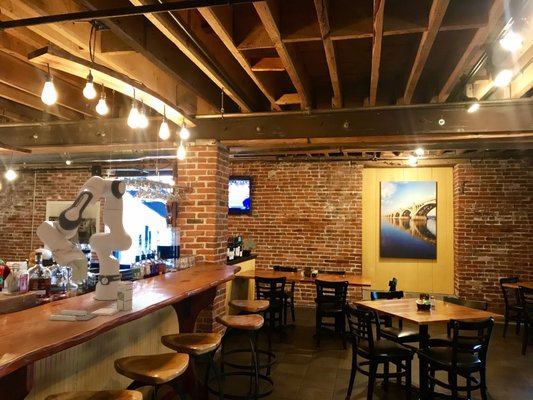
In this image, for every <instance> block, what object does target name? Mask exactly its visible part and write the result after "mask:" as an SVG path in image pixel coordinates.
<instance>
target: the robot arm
mask: <svg viewBox="0 0 533 400" xmlns="http://www.w3.org/2000/svg"><path fill="white" fill-rule="evenodd" d="M126 189H127V187H126V183H125V182H124V181H123V179H119V178H102V177H100V176H98V175H93V176H91V177H89V178H88V179H87V180H86V181H85V182H84V184H83V185H81V187H80V188H79V190H78V193H77V194H76V198H75V200H74V201H73V202H72V204H71V205H70V206H69V207H68V208H66V209H64V210H62V211H61V213H60V214H59V216H58V220H56V221H49V220H44V221H43V222H41V223H40V224H39V225H38V226H37V228H36V231H35V233H36V235H37V237H38V238H39V239H40V241H41V242H42V244H43V245H45V246H46V247H48V249H49V250H50V252H51V254H52V258H53V260H55V262H56V264H58V266H60V267H61V268H64V267H69V268H71V270H72V269H74V270H75V271H78V270H79V267H78V266H76V265H74V263H73V261H75V260H74V259H78V258H87V255H85V253H84V252H83V250H81V249H80V248H79V247H78V244H77V243H75V242H73V241H70V240H69V239H72V238H74V237H75V235H76V234H77V231H78V230H79V226H80V225H81V222H82V221H83V219H82V218H83V213H84V211H85V210H86V209H87V208H91V207H93V206H95V205H96V204H97V203H98V201H99V200H100V198H105V200H104V203H103V204H104V205H103V212H102V223H103V224H104V226H106V227H108V228H109V231H110V232H98V233H93V234H92V235H91V236H90V238H89V240H88V243H89V247H90V248H91V249H92V250H93V251H94V252H95V253H96V255H97V258H98V261H99V274H98V282H97V283H96V285H95V293H94V295H93V296H92V298H93V299H95V300H99V301H112V300H117V292H118V282H121V281H122V280H121V278H122V277H123V275H122V273H120V266H121V265H120V260H119V259H118V258H117V257H115V256H114V254H113V252H126V251H128V250H130V248H131V247H132V245H133V239H132V237H131V235H129V234H128V233H127V231H126V229H125V227H124V223H123V218H124V217H123V215H124V213H123V212H124V200H123V196H124V194H125V193H126Z"/></svg>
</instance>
